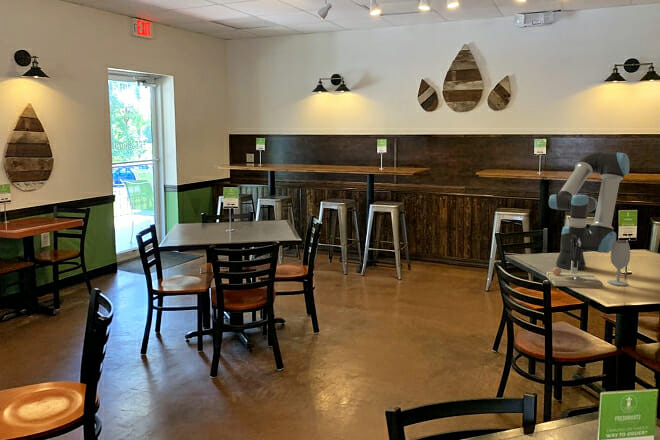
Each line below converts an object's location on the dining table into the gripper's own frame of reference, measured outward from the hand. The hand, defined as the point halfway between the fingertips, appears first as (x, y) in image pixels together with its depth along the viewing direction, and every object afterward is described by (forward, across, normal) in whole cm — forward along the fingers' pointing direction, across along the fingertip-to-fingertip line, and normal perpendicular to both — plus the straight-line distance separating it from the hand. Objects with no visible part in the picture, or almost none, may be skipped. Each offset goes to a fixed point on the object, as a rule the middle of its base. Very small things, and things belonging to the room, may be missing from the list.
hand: (573, 273), depth 287 cm
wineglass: (+5, 0, +21) cm, 22 cm away
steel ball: (+2, +5, +1) cm, 6 cm away
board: (+4, 0, 0) cm, 4 cm away
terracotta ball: (0, -2, -8) cm, 8 cm away
